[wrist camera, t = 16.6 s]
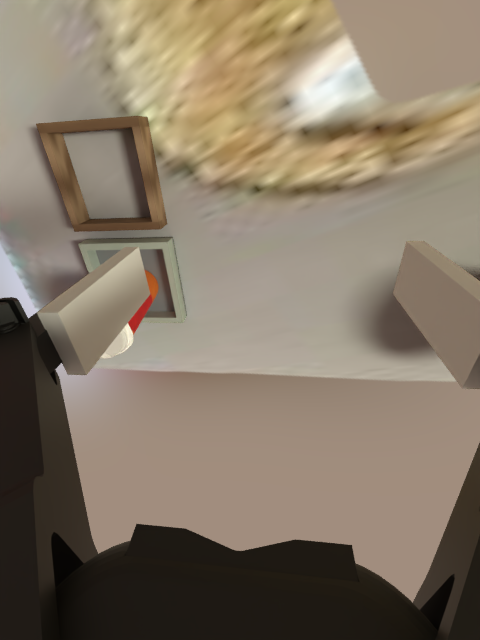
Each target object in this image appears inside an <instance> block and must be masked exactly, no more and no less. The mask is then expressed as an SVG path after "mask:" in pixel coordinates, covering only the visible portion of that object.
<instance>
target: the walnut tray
mask: <svg viewBox="0 0 480 640" xmlns="http://www.w3.org/2000/svg"><path fill="white" fill-rule="evenodd" d="M36 125H37V128H38V131H39V134H40V136H41V139H42V142H43V145H44V148H45V150H46V153H47V156H48V159H49V162H50V164H51V167H52V170H53V173H54V176H55V178H56V181H57V184H58V187H59V189H60V192H61V195H62V198H63V201H64V203H65V206H66V209H67V212H68V215H69V217H70V220H71V223H72V226H73V228H74V231H75V232H79V231H115V230H151V229H161V228H163V227H164V226H165V225H166V224H167V220H166V214H165V209H164V204H163V198H162V193H161V188H160V182H159V177H158V171H157V166H156V161H155V155H154V150H153V144H152V139H151V134H150V128H149V123H148V117H142V116H131V117H118V118H104V119H91V120H78V121H65V122H52V123H39V124H36ZM127 128H132V130H133V135H134V139H135V144H136V149H137V154H138V158H139V163H140V168H141V172H142V177H143V182H144V186H145V191H146V196H147V201H148V205H149V210H150V215H151V217H143V218H113V219H90V218H89V215H88V212H87V209H86V206H85V203H84V200H83V196H82V193H81V190H80V187H79V184H78V181H77V178H76V175H75V172H74V169H73V166H72V162H71V159H70V156H69V153H68V150H67V147H66V144H65V141H64V138H63V135H62V133H71V132H85V131H99V130H113V129H127Z"/></svg>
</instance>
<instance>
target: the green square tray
mask: <svg viewBox="0 0 480 640" xmlns="http://www.w3.org/2000/svg"><path fill="white" fill-rule="evenodd" d="M78 245H79V247H80V250H81V253H82V256H83V259H84V261H85V264H86V267H87V270H88V272H89V273H91V272H92V271H93V270H95V269H96V268H97V267H99V266H100V265H101V264H103V263H104V262H105V261H107V260H108V259H109V258H111V257H112V256H113V255H115V254H116V253H118V252H119V251H120V250H122V249H123V248H124V247H139V250H140V254H141V258H142V262H143V266H144V269H145V270H147V271H149V272H150V273H151V274H152V275H153V276H154V277H155V278H156V280H157V282H158V286H159V289H158V293H157V295H156V297H155V299H154V301H153V302H152V304H151V306H150V308H149V309H148V311H147V313H146V314H145V316H144V318H143V319H142V321H141V322H148V323H183V322H184V320H185V318H186V316H187V313H186V307H185V302H184V296H183V291H182V285H181V280H180V274H179V268H178V263H177V257H176V252H175V246H174V241H173V237H153V238H112V239H87V240H85V241H83V242H81V243H79V244H78Z"/></svg>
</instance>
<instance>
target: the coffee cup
mask: <svg viewBox="0 0 480 640" xmlns="http://www.w3.org/2000/svg"><path fill="white" fill-rule="evenodd" d="M144 270H145V269H144ZM145 274H146V278H147V282H148V286H149V290H150V295H149V296H148V298H147V299H146V300H145V302H144V303H143V304H142V305H141V307H140V308H139V309H138V310H137V312H136V313H135V314H134V316H133V317H132V318H131V319H130V321H129V322H128V323H127V324H126V326H125V327H124V328H123V329H122V331H121V332H120V333H119V335H118V336H117V337H116V338H115V340H114V341H113V342H112V343H111V345H110V346H109V347H108V348H107V350H106V351H105V352H104V354H103V355H102V356H101V357H100V358H111V357H113V356H115V355H117V354H120V353H122V352H124V351H126V350H127V349H128V348H129V347H130V346H131V345H132V342H133V335H134V333H135V331H136V329H137V328H138V326H139V324H140V323H141V321H142V319H143V318H144V316H145V314H146V313H147V311H148V309H149V308H150V306H151V304H152V302H153V301H154V299H155V297H156V295H157V293H158V289H159V286H158V282H157V280H156V278H155V277H154V276H153V275H152V274H151V273H150V272H149V271H147V270H145Z"/></svg>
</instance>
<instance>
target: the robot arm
mask: <svg viewBox="0 0 480 640" xmlns="http://www.w3.org/2000/svg"><path fill="white" fill-rule="evenodd" d="M149 295H150V290H149V286H148V282H147V278H146V274H145V270H144V266H143V262H142V258H141V254H140V250H139V247H124V248H123V249H122V250H120V251H119V252H118V253H116V254H115V255H113V256H112V257H111V258H109V259H108V260H107V261H105V262H104V263H103V264H101V265H100V266H99V267H97V268H96V269H95V270H93V271H92V272H91V273H89V274H88V275H87V276H85V277H84V278H83V279H81V280H80V281H78V282H77V283H76V284H74V285H73V286H72V287H70V288H69V289H68V290H66V291H65V292H64V293H62V294H61V295H60V296H58V297H57V298H56V299H54V300H53V301H51V302H50V303H49V304H47V305H46V306H45V307H43V308H42V309H41V310H39V311H38V312H37V313H35V314H34V315H33V316H31V317H30V318H29V319H28V317H27V315H26V314H25V312H24V310H23V308H22V306H21V304H20V302H19V300H18V299H17V298H12V297H10V298H2V299H0V640H480V443H479V446H478V448H477V451H476V453H475V456H474V458H473V461H472V463H471V466H470V468H469V471H468V473H467V476H466V479H465V481H464V484H463V486H462V489H461V491H460V494H459V496H458V499H457V501H456V504H455V507H454V509H453V511H452V514H451V516H450V519H449V522H448V524H447V527H446V529H445V532H444V534H443V537H442V539H441V542H440V545H439V547H438V550H437V552H436V554H435V557H434V560H433V562H432V565H431V567H430V570H429V572H428V574H427V576H426V578H425V580H424V582H423V584H422V586H421V588H420V590H419V591H418V593H417V595H416V597H415V599H414V601H413V603H412V602H411V601H410V600H409V599H408V598H407V597H406V596H405V595H404V594H402V593H401V592H400V591H399V590H398V589H396V588H395V587H394V586H393V585H391V584H390V583H389V582H387V581H386V580H385V579H383V578H382V577H380V576H379V575H377V574H375V573H374V572H372V571H370V570H368V569H366V568H365V567H363V566H360V565H358V564H356V563H355V560H354V555H353V549H352V545H344V544H335V543H325V542H315V541H304V540H292V541H287V542H282V543H277V544H273V545H269V546H264V547H259V548H254V549H249V550H245V551H235V550H232V549H230V548H228V547H225V546H223V545H221V544H219V543H216V542H214V541H212V540H210V539H208V538H205V537H203V536H201V535H199V534H196V533H194V532H192V531H189V530H187V529H182V528H173V527H162V526H152V525H142V524H136V527H135V530H134V533H133V536H132V538H131V541H128V542H124V543H122V544H119V545H116V546H113V547H111V548H109V549H108V550H105V551H103V552H101V553H99V554H98V552H97V550H96V548H95V545H94V542H93V539H92V536H91V532H90V527H89V522H88V517H87V512H86V507H85V502H84V497H83V492H82V487H81V483H80V478H79V473H78V468H77V463H76V458H75V453H74V449H73V444H72V438H71V433H70V428H69V424H68V419H67V414H66V409H65V404H64V399H63V394H62V389H61V385H60V379H59V376H58V374H57V372H56V370H55V369H56V368H57V367H58V366H59V365H60V363H62V364H63V366H64V368H65V370H66V372H67V374H69V375H87V374H88V372H89V371H90V370H91V369H92V368H93V366H94V365H95V364H96V362H97V361H98V360H99V359H100V357H101V356H102V355H103V354H104V352H105V351H106V350H107V348H108V347H109V346H110V345H111V343H112V342H113V341H114V340H115V338H116V337H117V336H118V335H119V333H120V332H121V331H122V329H123V328H124V327H125V326H126V324H127V323H128V322H129V321H130V319H131V318H132V317H133V316H134V314H135V313H136V312H137V310H138V309H139V308H140V307H141V305H142V304H143V303H144V302H145V300H146V299H147V298H148V296H149ZM393 295H394V296H395V298H396V299H397V300H398V302H399V303H400V304H401V306H402V307H403V308H404V310H405V311H406V313H407V314H408V315H409V317H410V318H411V319H412V321H413V322H414V323H415V325H416V326H417V328H418V329H419V330H420V332H421V333H422V334H423V336H424V337H425V338H426V340H427V341H428V343H429V344H430V345H431V347H432V348H433V349H434V351H435V352H436V353H437V355H438V356H439V358H440V359H441V360H442V362H443V363H444V364H445V366H446V367H447V368H448V370H449V371H450V372H451V374H452V375H453V377H454V378H455V379H456V381H457V382H458V383H459V385H460V386H461V387H462V388H466V389H480V281H479V280H478V279H476V278H475V277H473V276H472V275H471V274H469V273H468V272H466V271H465V270H464V269H462V268H461V267H460V266H458V265H457V264H455V263H454V262H453V261H451V260H450V259H448V258H447V257H446V256H444V255H443V254H441V253H440V252H439V251H437V250H436V249H434V248H433V247H432V246H430V245H429V244H427V243H426V242H425V241H406V245H405V249H404V253H403V257H402V261H401V265H400V268H399V272H398V276H397V280H396V284H395V288H394V292H393Z"/></svg>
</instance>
